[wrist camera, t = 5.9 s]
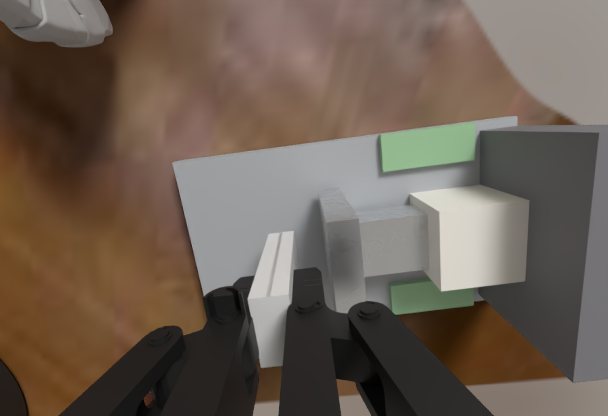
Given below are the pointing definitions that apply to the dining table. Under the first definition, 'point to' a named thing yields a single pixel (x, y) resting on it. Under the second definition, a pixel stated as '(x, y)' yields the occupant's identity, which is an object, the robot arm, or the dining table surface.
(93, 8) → the mug
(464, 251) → the block
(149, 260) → the dining table surface
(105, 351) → the dining table surface
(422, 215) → the plunger
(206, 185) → the bench
